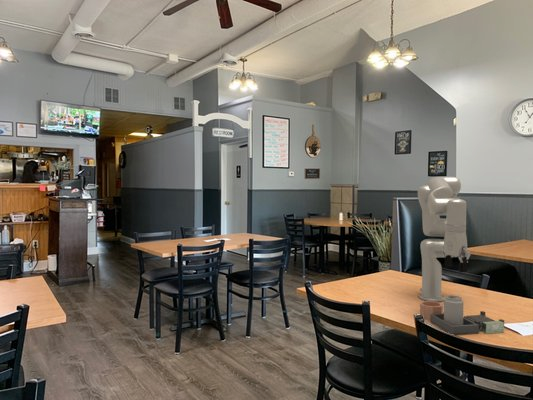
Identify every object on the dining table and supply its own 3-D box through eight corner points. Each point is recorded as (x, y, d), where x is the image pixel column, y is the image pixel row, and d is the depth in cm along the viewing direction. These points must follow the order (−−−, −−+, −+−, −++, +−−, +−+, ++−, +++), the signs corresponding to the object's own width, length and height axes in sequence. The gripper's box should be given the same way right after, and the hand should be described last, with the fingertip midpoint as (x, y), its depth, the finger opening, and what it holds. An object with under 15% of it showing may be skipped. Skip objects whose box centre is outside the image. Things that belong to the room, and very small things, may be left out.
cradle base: (457, 321, 173) (457, 312, 173) (483, 320, 175) (483, 311, 175) (481, 334, 158) (481, 324, 158) (509, 332, 160) (509, 322, 160)
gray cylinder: (457, 321, 170) (458, 294, 169) (466, 328, 162) (467, 299, 162) (440, 322, 170) (440, 294, 169) (448, 328, 162) (449, 299, 162)
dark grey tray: (430, 322, 172) (430, 314, 172) (454, 320, 174) (454, 312, 174) (452, 335, 157) (452, 326, 157) (478, 333, 159) (478, 324, 159)
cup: (416, 314, 183) (416, 301, 183) (434, 313, 184) (434, 300, 184) (427, 320, 174) (427, 307, 174) (446, 319, 176) (446, 306, 175)
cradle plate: (463, 320, 171) (463, 315, 171) (482, 319, 173) (482, 314, 173) (478, 327, 162) (478, 322, 162) (497, 326, 164) (497, 321, 164)
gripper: (435, 226, 173) (435, 265, 174) (461, 231, 156) (460, 274, 157) (451, 226, 175) (451, 264, 175) (478, 231, 158) (477, 273, 158)
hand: (455, 269), depth 166 cm, fingers open, 9 cm apart
